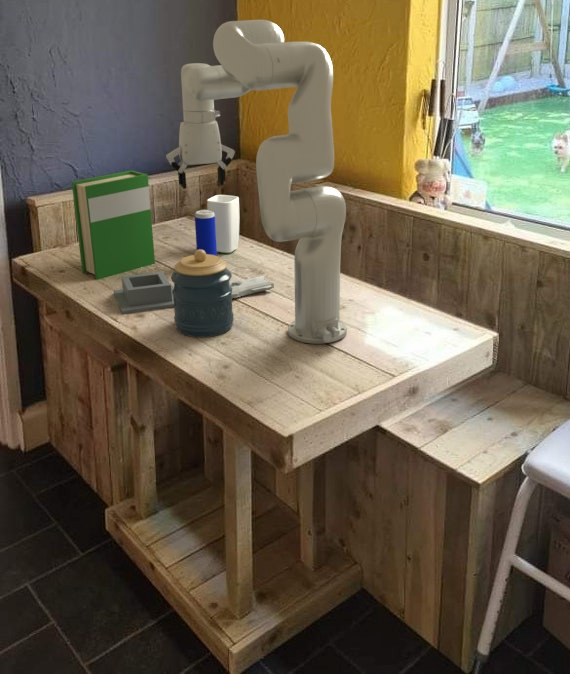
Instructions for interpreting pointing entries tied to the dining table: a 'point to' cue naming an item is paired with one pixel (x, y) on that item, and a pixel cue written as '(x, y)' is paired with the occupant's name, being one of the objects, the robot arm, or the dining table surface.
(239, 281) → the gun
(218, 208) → the cup
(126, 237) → the hardback book
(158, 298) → the holder
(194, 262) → the canister
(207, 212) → the beverage can
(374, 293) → the dining table surface
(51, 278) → the dining table surface
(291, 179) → the robot arm
